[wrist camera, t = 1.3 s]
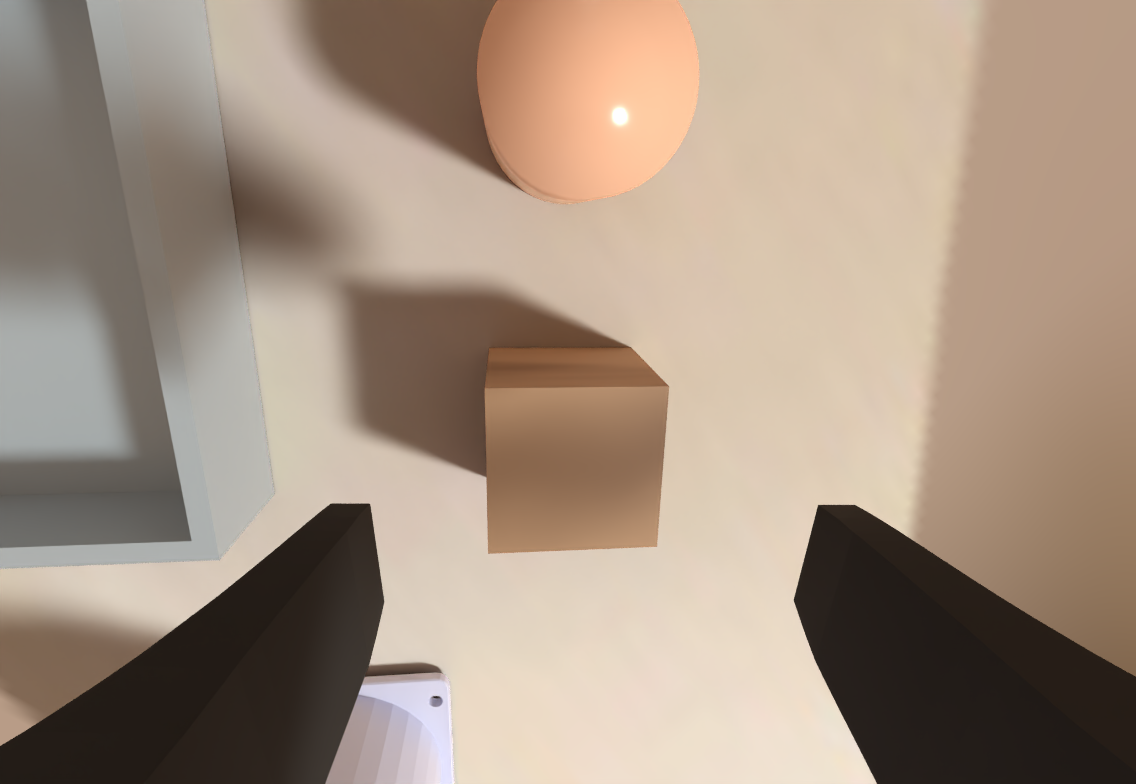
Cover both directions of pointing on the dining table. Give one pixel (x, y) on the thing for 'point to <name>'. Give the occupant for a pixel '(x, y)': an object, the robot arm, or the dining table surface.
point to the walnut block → (573, 449)
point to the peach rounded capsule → (586, 93)
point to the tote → (120, 293)
